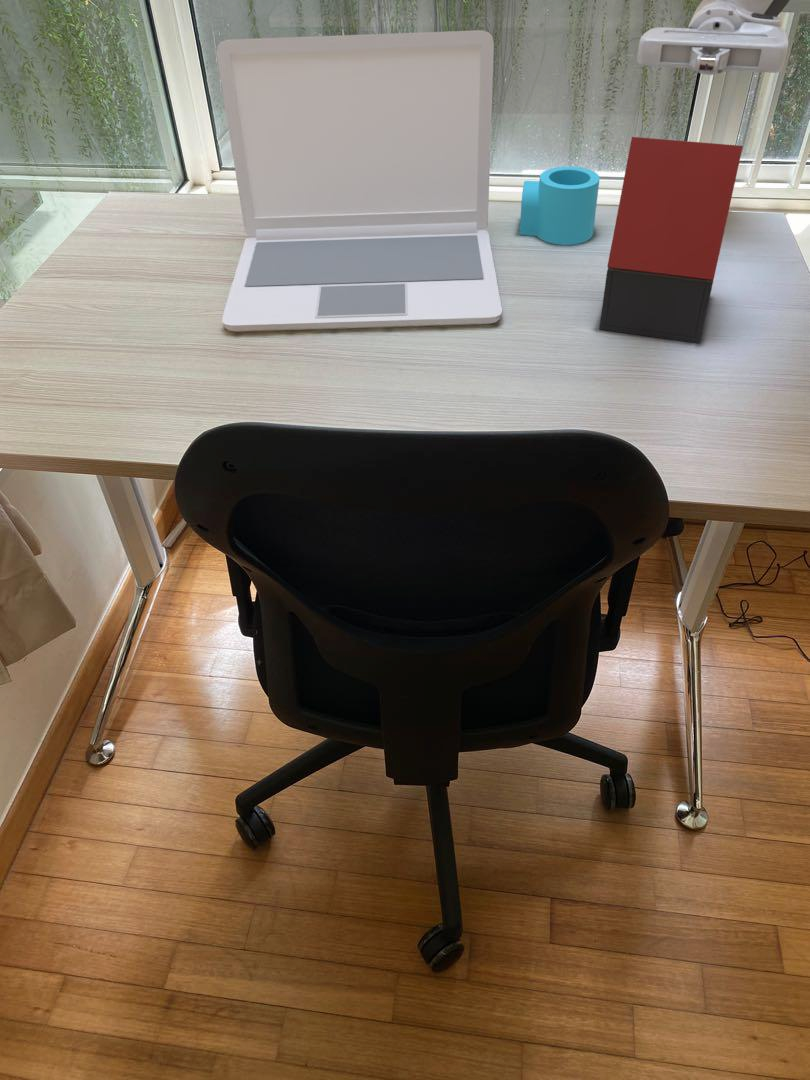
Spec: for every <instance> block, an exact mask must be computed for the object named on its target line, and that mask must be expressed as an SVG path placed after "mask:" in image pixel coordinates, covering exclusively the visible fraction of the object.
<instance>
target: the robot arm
mask: <svg viewBox="0 0 810 1080" xmlns="http://www.w3.org/2000/svg"><path fill="white" fill-rule="evenodd" d="M790 1H791V0H701V2H700V3H699V4H698V6H697V8H696V9H695V10H694V12H693V15H692V17H691V20H690V21H689V23H688V26H687V27H666V26H665V27H664V26H663V27H662V26H661V27H652V28H650V29H648V30H646V31H645V33H643V34H642V35H641V36H640V39H639V42H638V49H637V58H636V62H637V64H639V65H640V66H645V67H663V68H678V69H679V68H680V69H692V70H694V72H697V73H698V74H702V75H707V76H713V75H719V74H722V73H724V72H725V73H729V72H751V73H752V72H754V73H768V74H769V73H771V74H779V73H781V72H782V71H783V69H784V66H785V64H786V63H785V62H786V59H787V54H788V50H789V49H788V48H789V37H788V33H787V32H786V30H785V29H784V28H783V27H782V18H781V17H778V16H779V15H780V14H781V12H782V11H784V9H785V8H786V7H787V5H788V4H789V2H790Z"/></svg>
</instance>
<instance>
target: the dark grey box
mask: <svg viewBox="0 0 810 1080" xmlns="http://www.w3.org/2000/svg"><path fill="white" fill-rule="evenodd" d="M605 275H606V277H605V284H604V290H603V299H602V307H601V314H600V321H599V327H598V329H599V330H601V331H609V332H617V333H623V334H630V335H638V336H644V337H651V338H659V339H665V340H672V341H680V342H688V343H695V344H700V342H701V337H702V333H703V329H704V325H705V324H704V323H705V320H706V316H707V311H708V308H709V307H708V306H709V303H710V302H709V301H710V298H711V292H712V289H713V285H714V280H706V279H698V278H690V277H682V276H673V275H665V274H657V273H649V272H640V271H632V270H624V269H616V268H608V267H607V270H606V274H605Z"/></svg>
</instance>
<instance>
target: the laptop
mask: <svg viewBox="0 0 810 1080" xmlns="http://www.w3.org/2000/svg"><path fill="white" fill-rule="evenodd" d="M493 37H494V36H492V34H491V33H489V31H486V30H483V29H480V30H479V29H478V30H476V29H475V30H454V31H453V30H451V31H449V30H448V31H427V32H425V31H424V32H423V31H422V32H397V33H394V32H393V33H370V34H367V33H366V34H340V35H338V34H337V35H318V36H317V35H316V36H314V35H313V36H287V37H284V36H283V37H261V38H260V37H259V38H258V37H257V38H235V39H234V38H231V39H229V38H228V39H225V40H222V41H220V42H219V44H218V45H217V46H216V59H217V65H218V73H219V79H220V83H221V84H220V85H221V90H222V91H221V92H222V97H223V104H224V109H225V115H226V122H227V128H228V136H229V140H230V148H231V153H232V160H233V166H234V171H235V178H236V184H237V191H238V197H239V203H240V209H241V215H242V222H243V227H244V228H243V229H244V233H245V235H246V236H247V237H248V238H247V237H246V238H245V239H244V243H243V246H242V249H241V253H240V256H239V259H238V263H237V266H236V270H235V273H234V277H233V280H232V283H231V286H230V289H229V293H228V296H227V299H226V303H225V307H224V310H223V313H222V316H221V323H222V326H223V327H224V328H225V329H226V330H228V331H229V332H234V333H235V332H236V333H237V332H239V333H240V332H241V333H242V332H269V331H270V332H273V331H305V330H306V331H307V330H337V329H338V330H340V329H364V328H365V329H367V328H368V329H371V328H398V327H399V328H402V327H434V326H437V327H438V326H464V325H465V326H466V325H491V324H494V323H497V322H498V321H499V320H500V319H501V315H502V313H503V307H502V301H501V296H500V292H499V286H498V280H497V274H496V269H495V264H494V258H493V252H492V246H491V241H490V235H489V231H488V230H484V229H487V227H488V225H489V203H490V202H489V199H490V174H491V167H490V166H491V145H492V144H491V143H492V113H493V112H492V111H493V87H494V86H493V85H494V59H495V58H494V56H495V55H494V53H495V42H494V38H493Z"/></svg>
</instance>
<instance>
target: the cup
mask: <svg viewBox="0 0 810 1080" xmlns="http://www.w3.org/2000/svg"><path fill="white" fill-rule="evenodd" d="M599 187H600V175H599V174H598V173H597V172H595V171H594V170H591V169H588V168H585V167H580V166H557V167H556V166H555V167H552V168H548V169H546V170H544V171H542V172H541V173H540V175H539V181H538V180H524V181H523V187H522V193H521V201H520V202H521V203H520V218H519V219H520V220H519V236H532V237H533V236H534V237H537V238H539V240H541V241H543V242H545V243H548V244H552V245H553V244H554V245H558V246H559V245H560V246H574V245H579V244H582V243H585V242H588V241H589V240H591V238H593V236H594V229H595V221H596V212H597V205H598V204H597V203H598V195H599Z"/></svg>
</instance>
